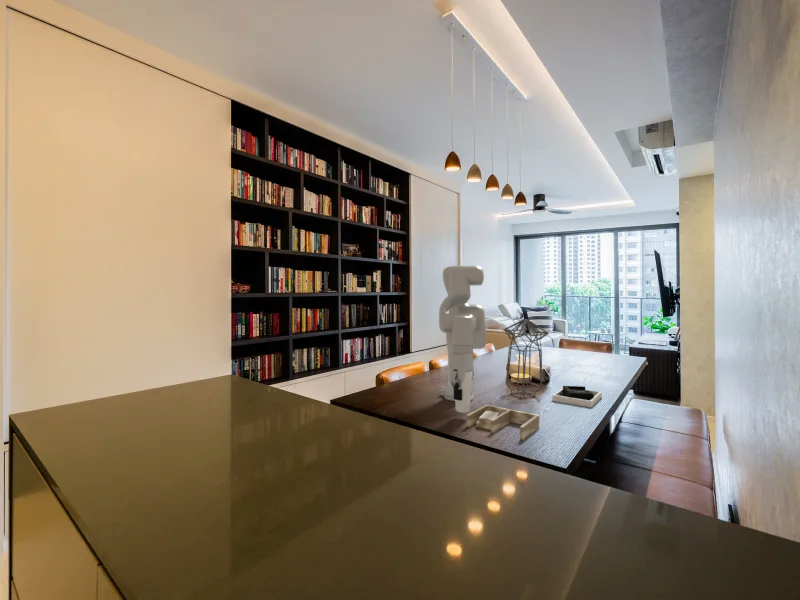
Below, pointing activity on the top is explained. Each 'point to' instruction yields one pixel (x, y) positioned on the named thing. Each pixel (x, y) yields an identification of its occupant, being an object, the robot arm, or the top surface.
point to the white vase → (465, 394)
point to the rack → (507, 419)
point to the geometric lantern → (525, 353)
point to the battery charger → (577, 392)
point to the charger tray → (575, 401)
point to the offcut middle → (483, 425)
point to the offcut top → (488, 417)
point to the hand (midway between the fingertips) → (462, 397)
